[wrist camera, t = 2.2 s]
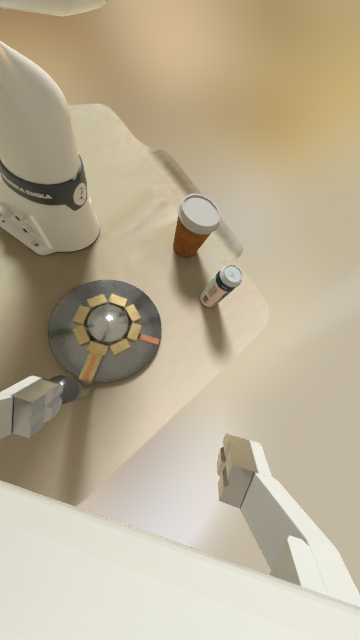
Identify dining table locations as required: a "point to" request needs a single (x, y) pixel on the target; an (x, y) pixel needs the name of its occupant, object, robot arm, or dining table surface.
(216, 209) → the disposable coffee cup
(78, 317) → the tan handled ring
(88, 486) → the dining table surface
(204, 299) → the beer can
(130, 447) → the dining table surface
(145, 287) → the dining table surface
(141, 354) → the flange
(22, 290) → the dining table surface
